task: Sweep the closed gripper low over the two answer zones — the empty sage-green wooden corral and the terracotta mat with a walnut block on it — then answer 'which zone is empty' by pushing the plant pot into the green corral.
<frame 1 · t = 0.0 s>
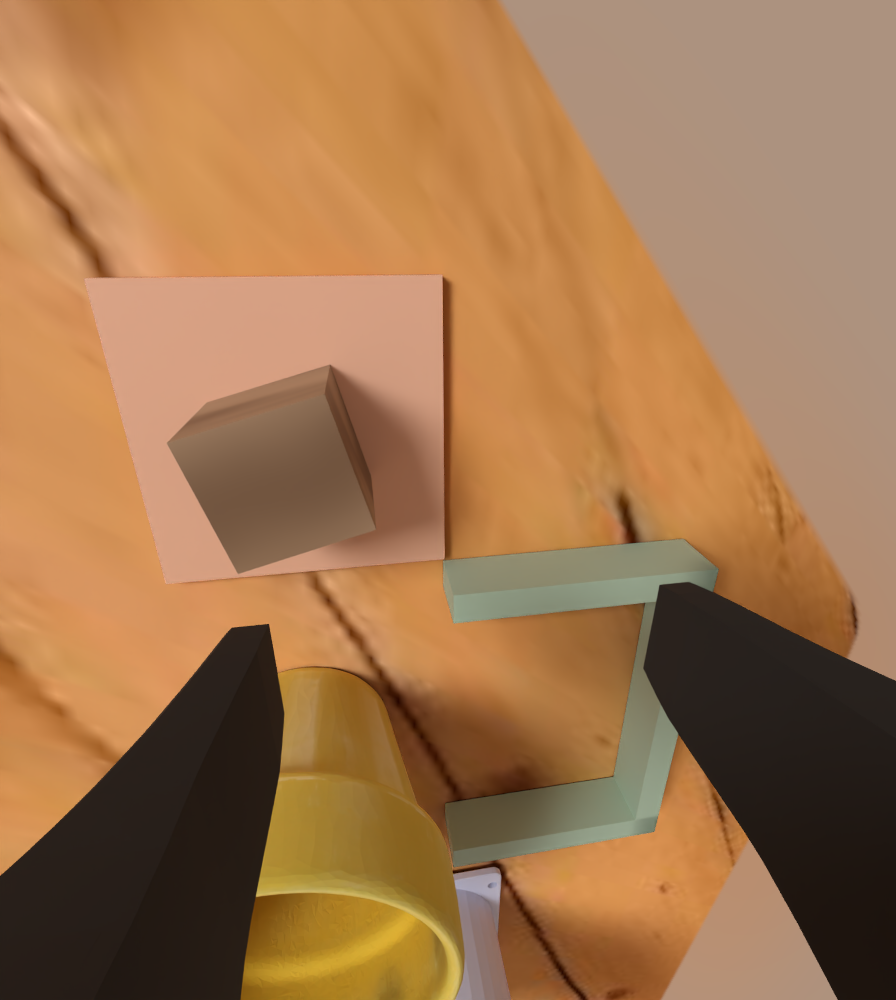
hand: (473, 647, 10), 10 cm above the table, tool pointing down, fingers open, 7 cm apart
plant pot: (308, 720, 23), on the table
terracotta mat: (294, 437, 18), on the table
walnut block: (293, 441, 17), resting on terracotta mat
green corral: (529, 695, 25), on the table
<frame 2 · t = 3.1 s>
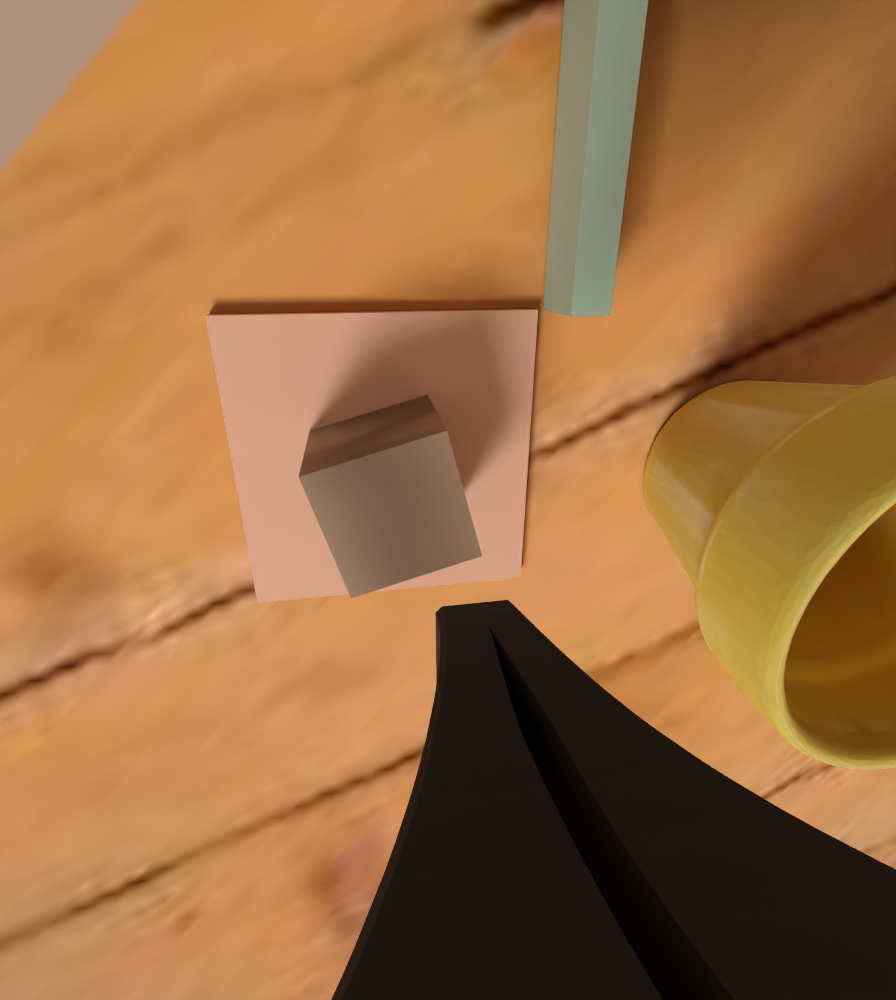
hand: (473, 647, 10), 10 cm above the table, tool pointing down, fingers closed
plant pot: (716, 465, 21), on the table
terracotta mat: (386, 463, 18), on the table
walnut block: (387, 467, 18), resting on terracotta mat
green corral: (787, 170, 17), on the table
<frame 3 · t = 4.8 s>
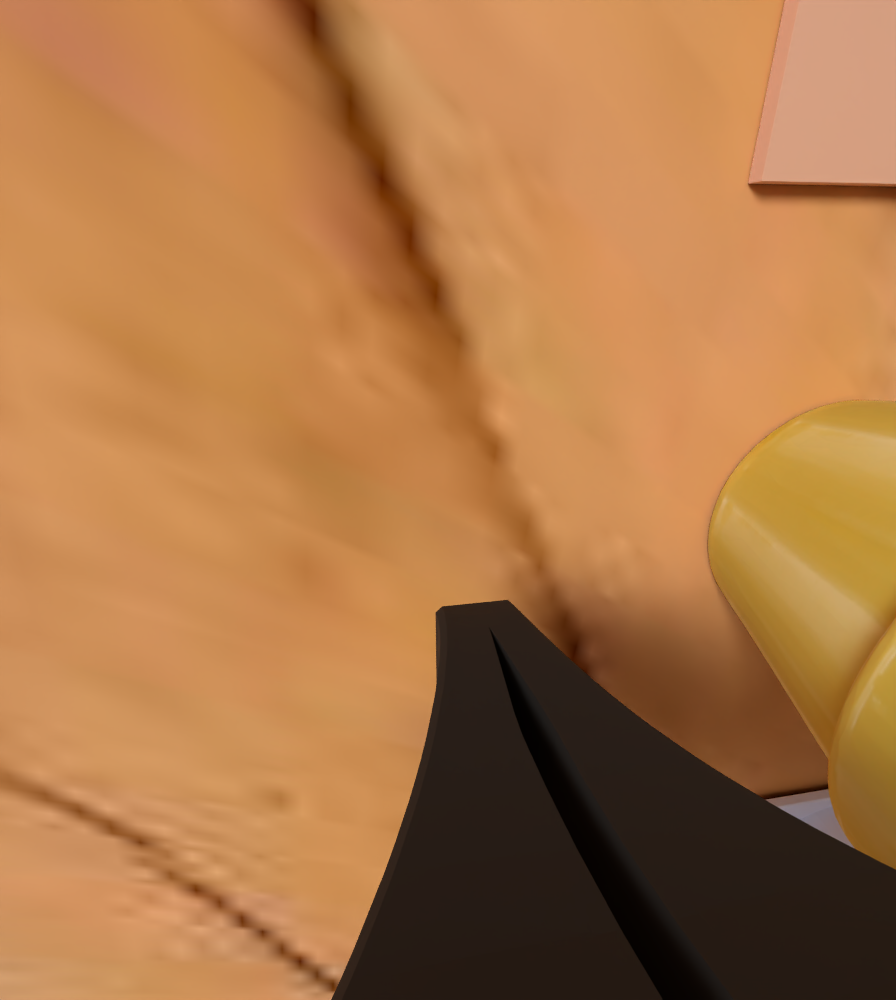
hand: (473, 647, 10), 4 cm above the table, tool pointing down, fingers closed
plant pot: (804, 510, 15), on the table
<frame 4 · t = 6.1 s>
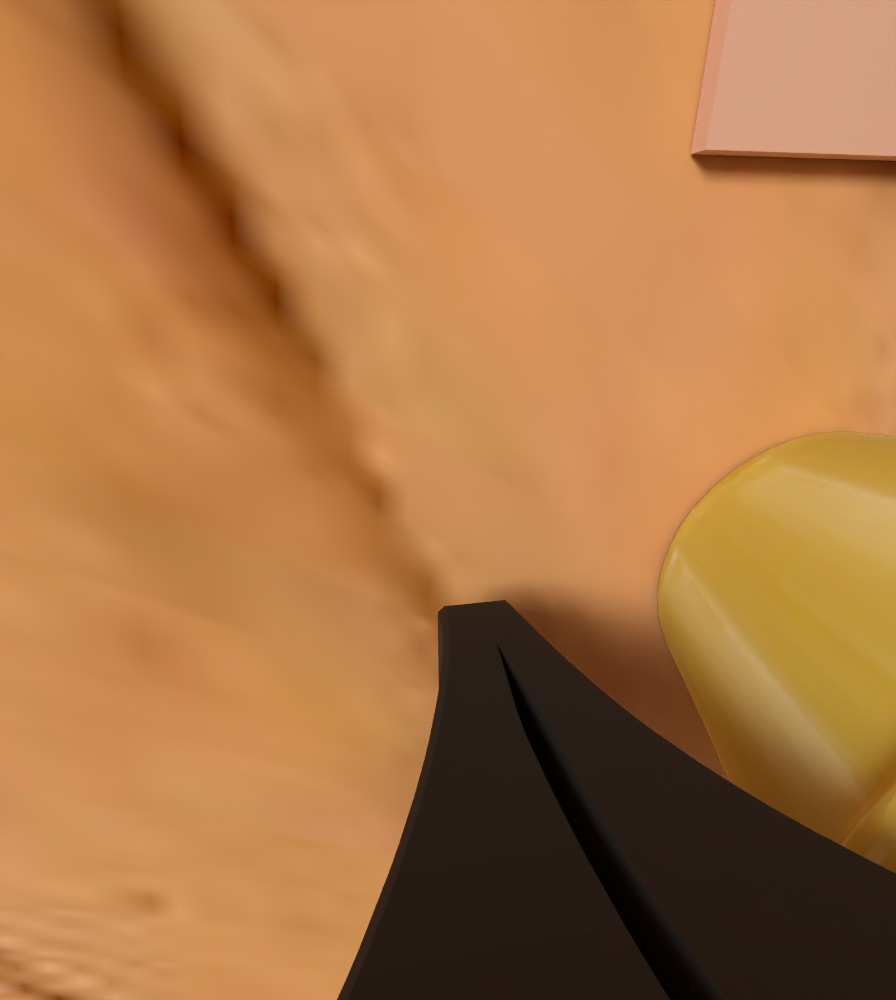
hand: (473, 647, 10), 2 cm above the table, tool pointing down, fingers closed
plant pot: (775, 560, 13), on the table, touching gripper
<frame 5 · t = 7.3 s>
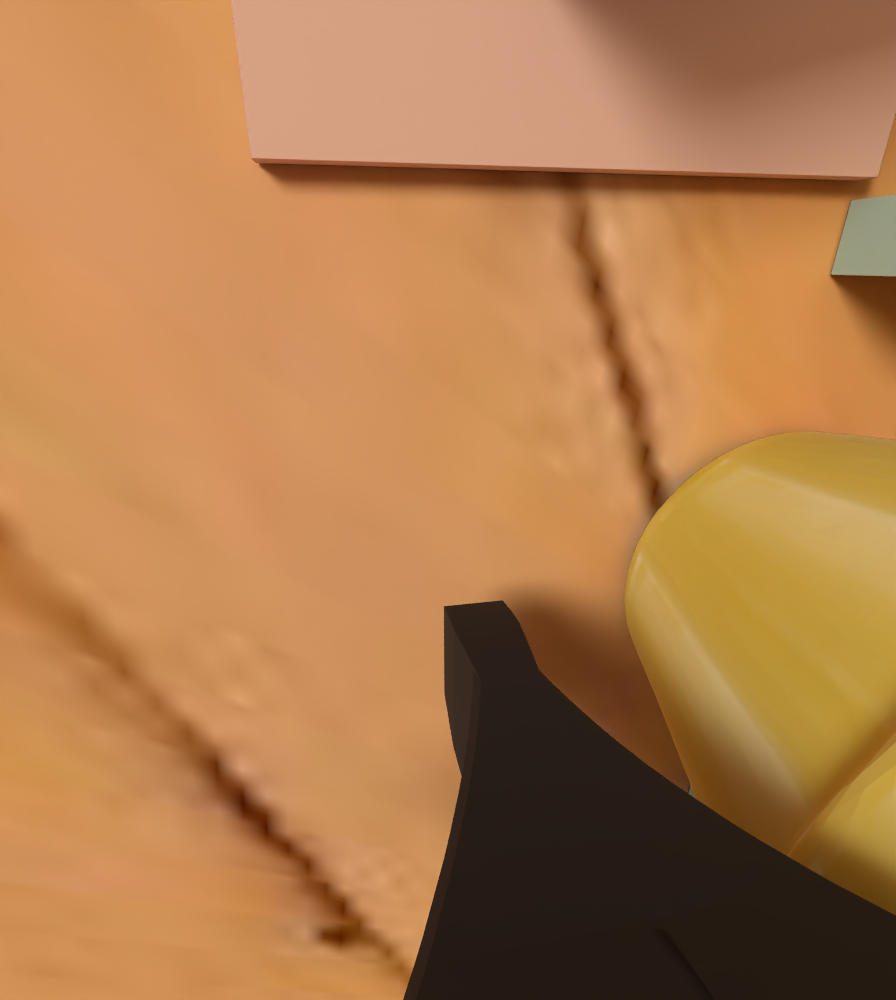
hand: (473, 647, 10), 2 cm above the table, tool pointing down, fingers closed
plant pot: (743, 561, 12), on the table, touching gripper
green corral: (895, 561, 13), on the table
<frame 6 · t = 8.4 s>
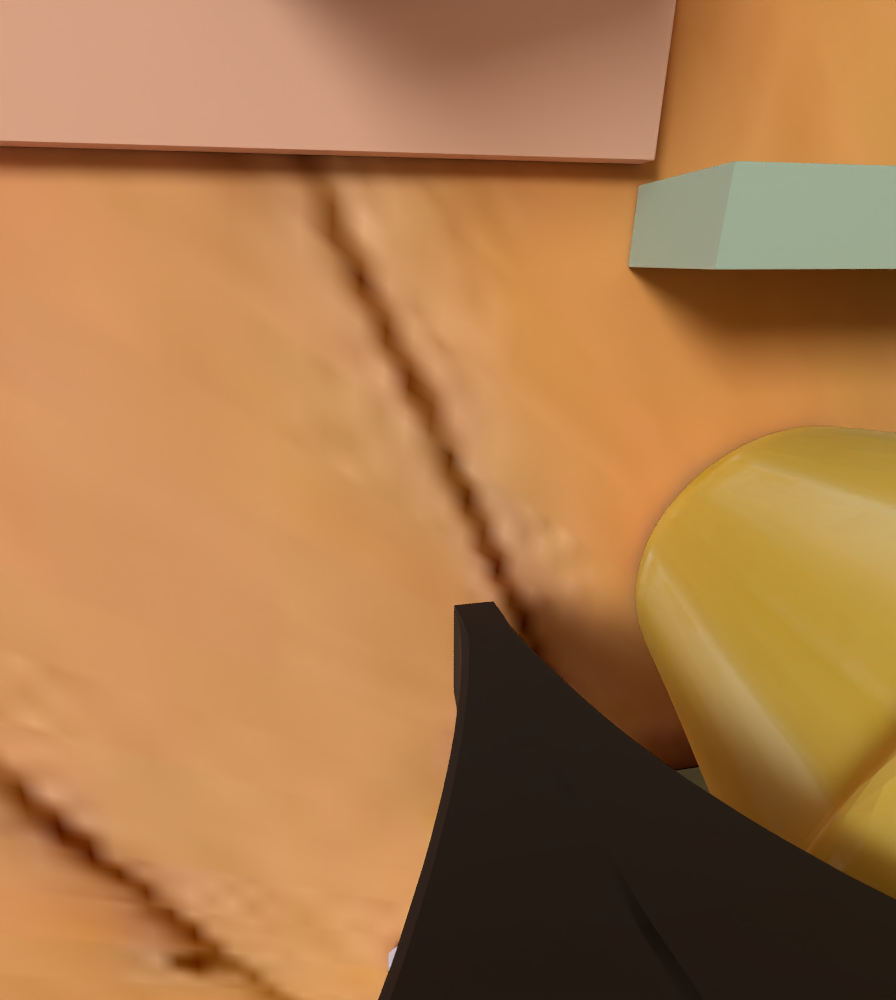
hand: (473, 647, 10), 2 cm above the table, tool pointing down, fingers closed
plant pot: (754, 557, 12), on the table, touching gripper
green corral: (750, 571, 12), on the table
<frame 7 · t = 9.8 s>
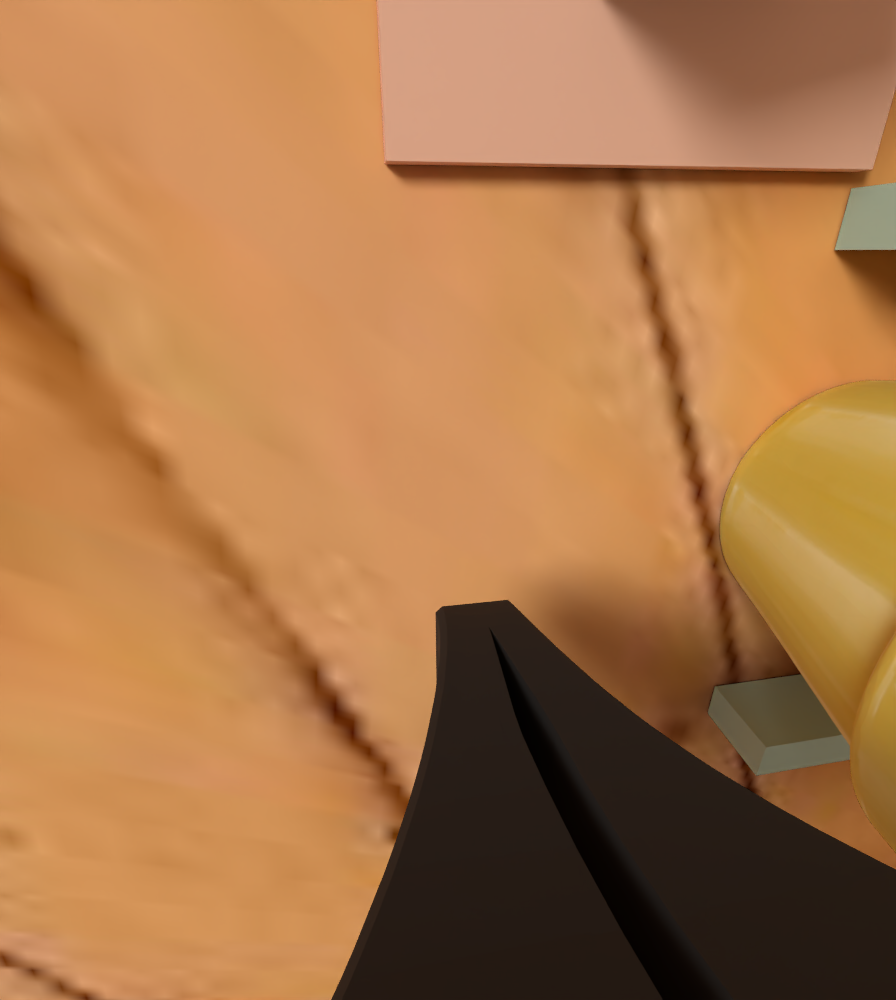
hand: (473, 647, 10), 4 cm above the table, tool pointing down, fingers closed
plant pot: (815, 493, 15), on the table
green corral: (887, 498, 15), on the table
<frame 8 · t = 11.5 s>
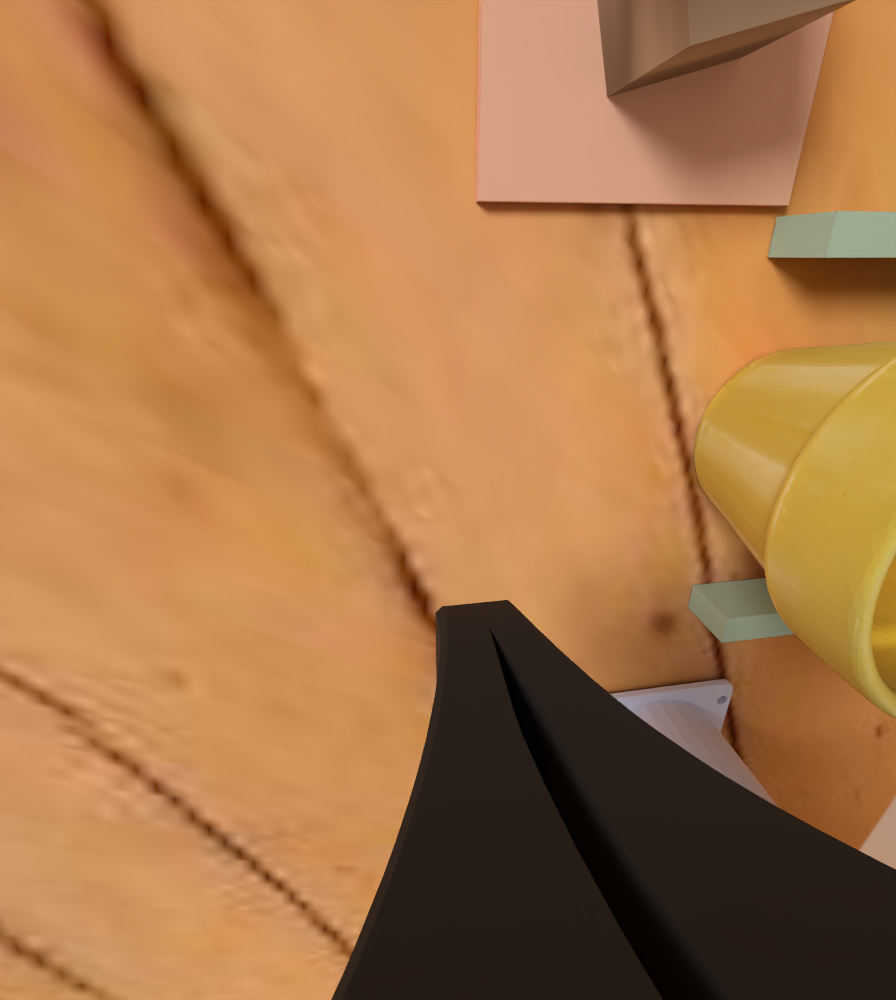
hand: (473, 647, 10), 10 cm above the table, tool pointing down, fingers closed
plant pot: (764, 433, 21), on the table
green corral: (817, 437, 21), on the table
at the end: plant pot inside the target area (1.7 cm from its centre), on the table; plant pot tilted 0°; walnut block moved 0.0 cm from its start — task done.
